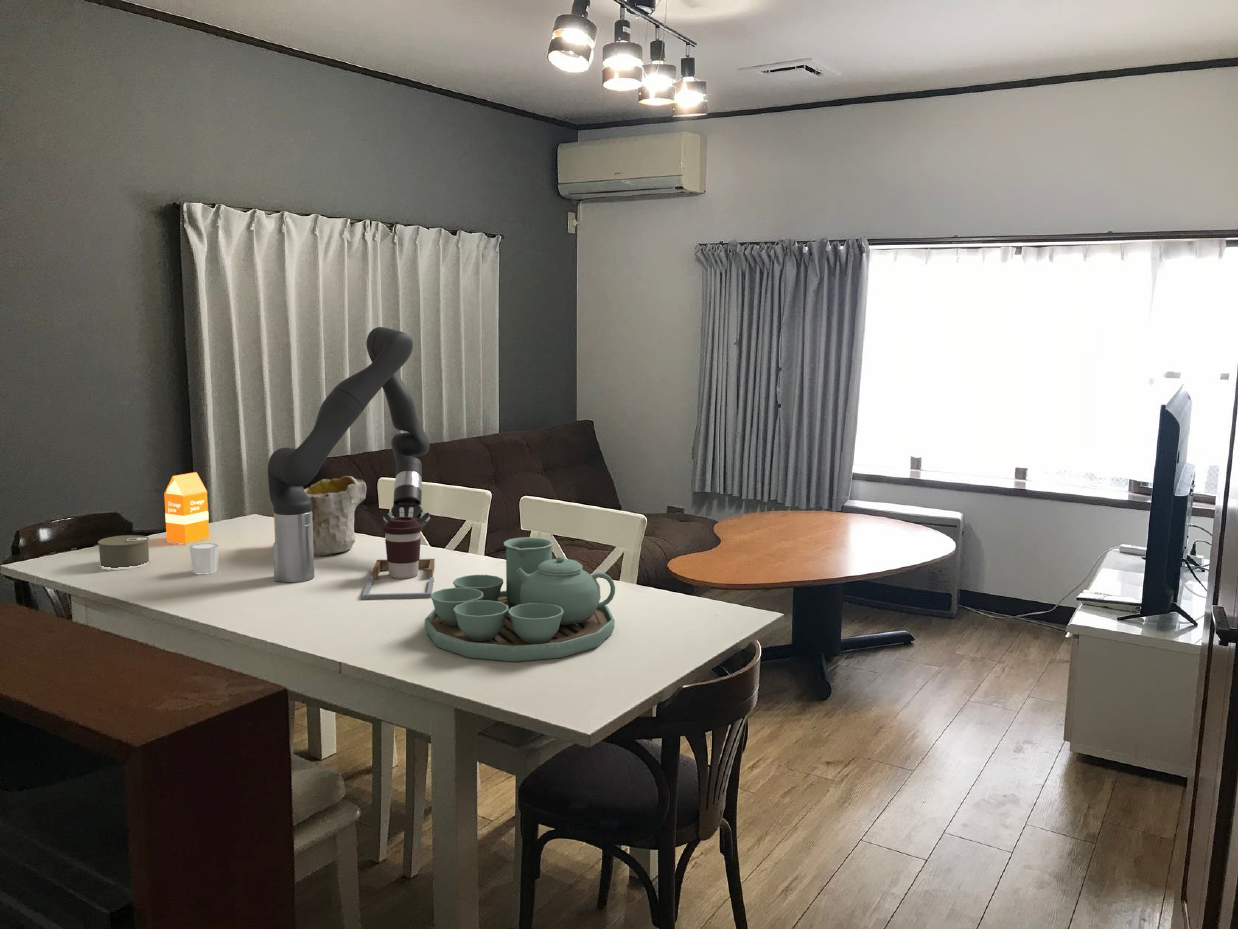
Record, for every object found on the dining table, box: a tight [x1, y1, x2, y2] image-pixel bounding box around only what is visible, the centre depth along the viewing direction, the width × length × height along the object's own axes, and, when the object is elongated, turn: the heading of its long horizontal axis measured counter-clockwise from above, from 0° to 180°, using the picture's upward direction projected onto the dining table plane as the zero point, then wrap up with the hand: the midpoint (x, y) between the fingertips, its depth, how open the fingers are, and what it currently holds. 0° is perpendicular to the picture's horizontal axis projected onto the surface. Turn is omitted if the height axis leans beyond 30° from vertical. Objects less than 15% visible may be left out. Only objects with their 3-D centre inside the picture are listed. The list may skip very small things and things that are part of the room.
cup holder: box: [371, 558, 435, 581], centre depth 249 cm, size 15×12×2 cm
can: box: [97, 534, 150, 568], centre depth 254 cm, size 12×12×7 cm
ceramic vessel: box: [304, 475, 367, 557], centre depth 272 cm, size 23×24×25 cm
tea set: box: [424, 536, 616, 663], centre depth 204 cm, size 40×40×16 cm
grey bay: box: [361, 576, 435, 600], centre depth 234 cm, size 16×15×1 cm
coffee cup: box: [382, 516, 423, 580], centre depth 246 cm, size 10×10×15 cm
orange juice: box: [163, 471, 210, 544], centre depth 282 cm, size 8×9×20 cm
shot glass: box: [189, 542, 219, 574], centre depth 248 cm, size 7×7×7 cm
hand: (405, 544), depth 255 cm, fingers closed
